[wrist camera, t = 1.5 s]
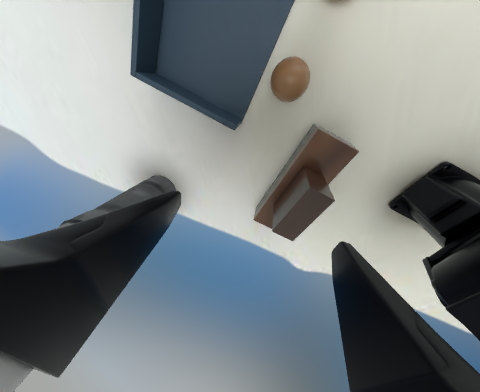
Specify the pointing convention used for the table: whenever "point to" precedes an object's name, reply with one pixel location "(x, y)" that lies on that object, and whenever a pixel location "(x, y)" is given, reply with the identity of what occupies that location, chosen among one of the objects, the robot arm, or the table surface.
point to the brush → (304, 183)
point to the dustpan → (206, 50)
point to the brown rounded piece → (290, 79)
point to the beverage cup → (127, 198)
